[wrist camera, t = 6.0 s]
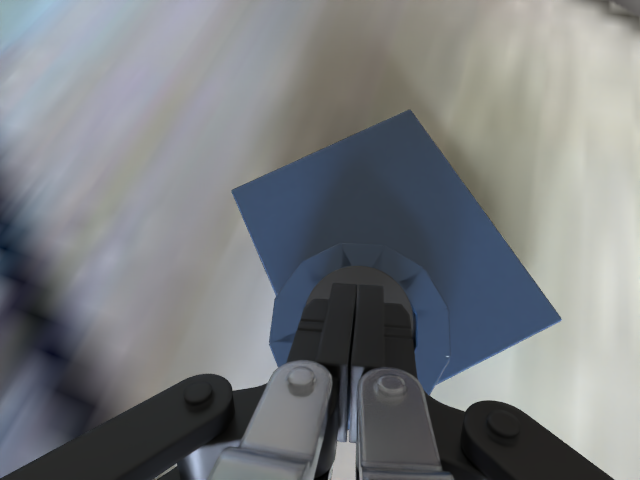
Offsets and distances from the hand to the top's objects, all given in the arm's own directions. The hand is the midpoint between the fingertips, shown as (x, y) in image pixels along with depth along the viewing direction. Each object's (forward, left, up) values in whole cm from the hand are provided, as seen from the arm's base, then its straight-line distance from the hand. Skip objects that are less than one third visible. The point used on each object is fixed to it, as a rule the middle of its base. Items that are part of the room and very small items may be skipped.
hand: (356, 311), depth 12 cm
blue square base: (-3, +3, -10) cm, 11 cm away
